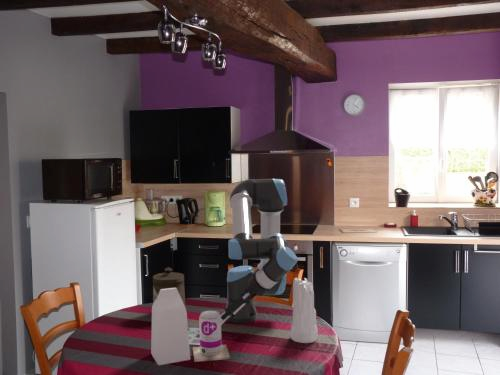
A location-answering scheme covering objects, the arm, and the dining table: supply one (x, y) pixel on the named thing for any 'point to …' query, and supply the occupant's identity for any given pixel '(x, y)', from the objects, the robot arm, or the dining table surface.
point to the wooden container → (168, 283)
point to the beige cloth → (221, 356)
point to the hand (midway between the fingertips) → (225, 317)
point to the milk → (169, 328)
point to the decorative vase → (303, 312)
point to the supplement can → (210, 333)
